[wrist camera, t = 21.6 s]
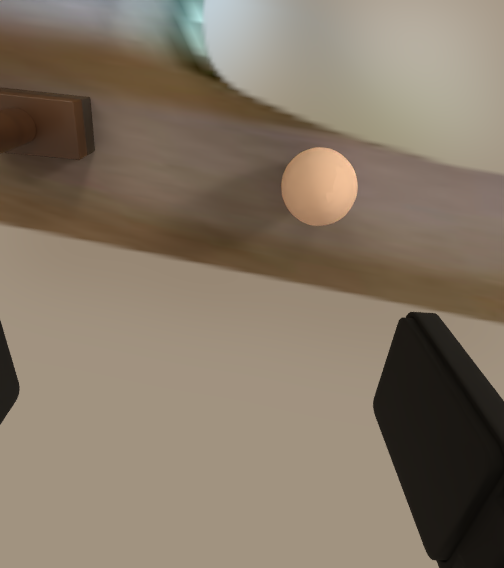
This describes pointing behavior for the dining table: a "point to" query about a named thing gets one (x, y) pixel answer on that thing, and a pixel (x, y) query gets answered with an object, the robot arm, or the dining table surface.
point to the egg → (319, 186)
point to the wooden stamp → (45, 124)
